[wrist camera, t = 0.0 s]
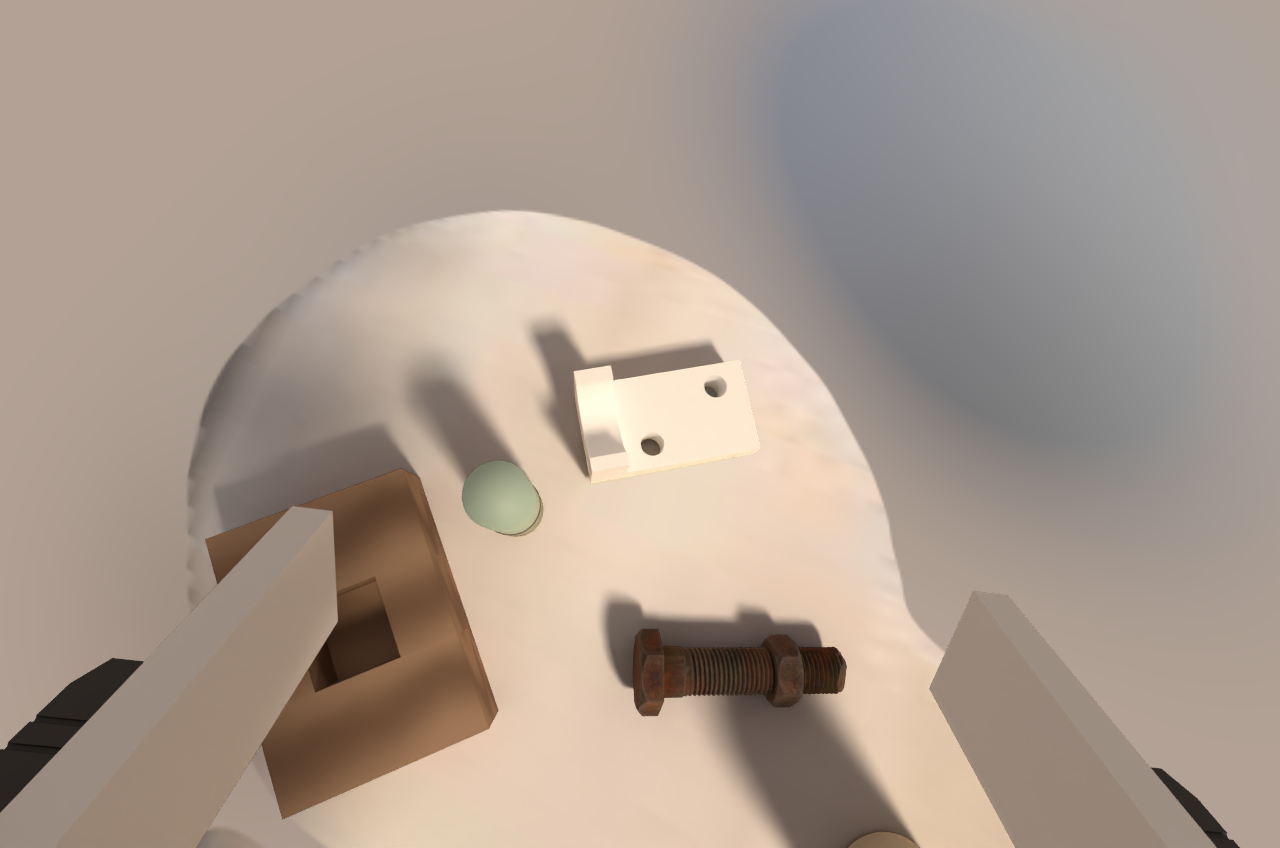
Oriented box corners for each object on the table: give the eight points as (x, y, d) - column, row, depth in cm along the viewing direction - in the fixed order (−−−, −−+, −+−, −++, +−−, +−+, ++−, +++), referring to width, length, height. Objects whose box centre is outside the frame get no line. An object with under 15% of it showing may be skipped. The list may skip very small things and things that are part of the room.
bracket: (590, 484, 50) (591, 471, 42) (574, 398, 51) (573, 371, 44) (748, 455, 51) (776, 438, 44) (729, 372, 53) (753, 342, 45)
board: (498, 710, 45) (488, 728, 41) (315, 790, 43) (282, 819, 38) (419, 477, 48) (401, 468, 43) (244, 541, 46) (205, 539, 41)
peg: (551, 525, 49) (542, 514, 37) (500, 545, 48) (474, 541, 36) (533, 475, 49) (518, 449, 37) (482, 494, 49) (451, 474, 37)
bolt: (819, 671, 50) (630, 673, 48) (830, 616, 49) (635, 616, 47) (850, 727, 45) (638, 732, 43) (863, 667, 43) (644, 670, 41)
